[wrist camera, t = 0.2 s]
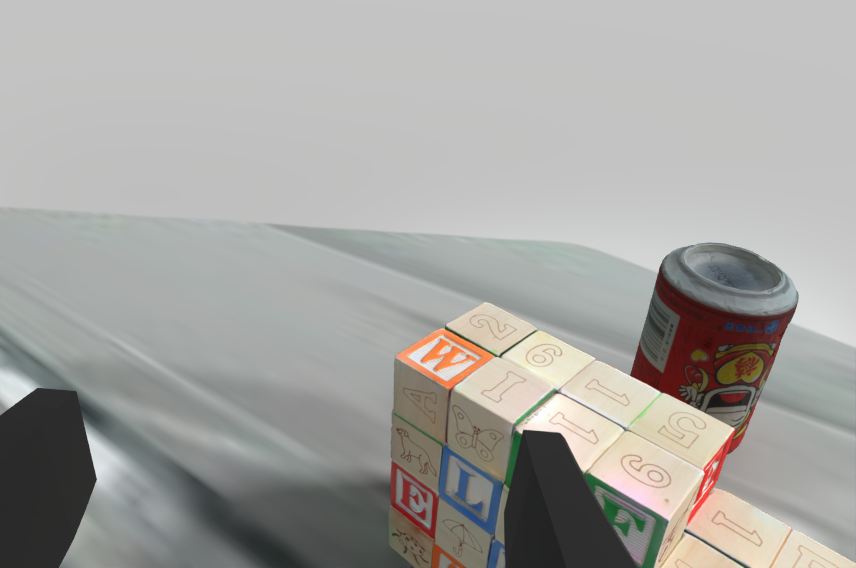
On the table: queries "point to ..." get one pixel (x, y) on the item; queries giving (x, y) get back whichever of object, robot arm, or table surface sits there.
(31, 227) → the table surface
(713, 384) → the soda can
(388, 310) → the table surface
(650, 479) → the stack of blocks
